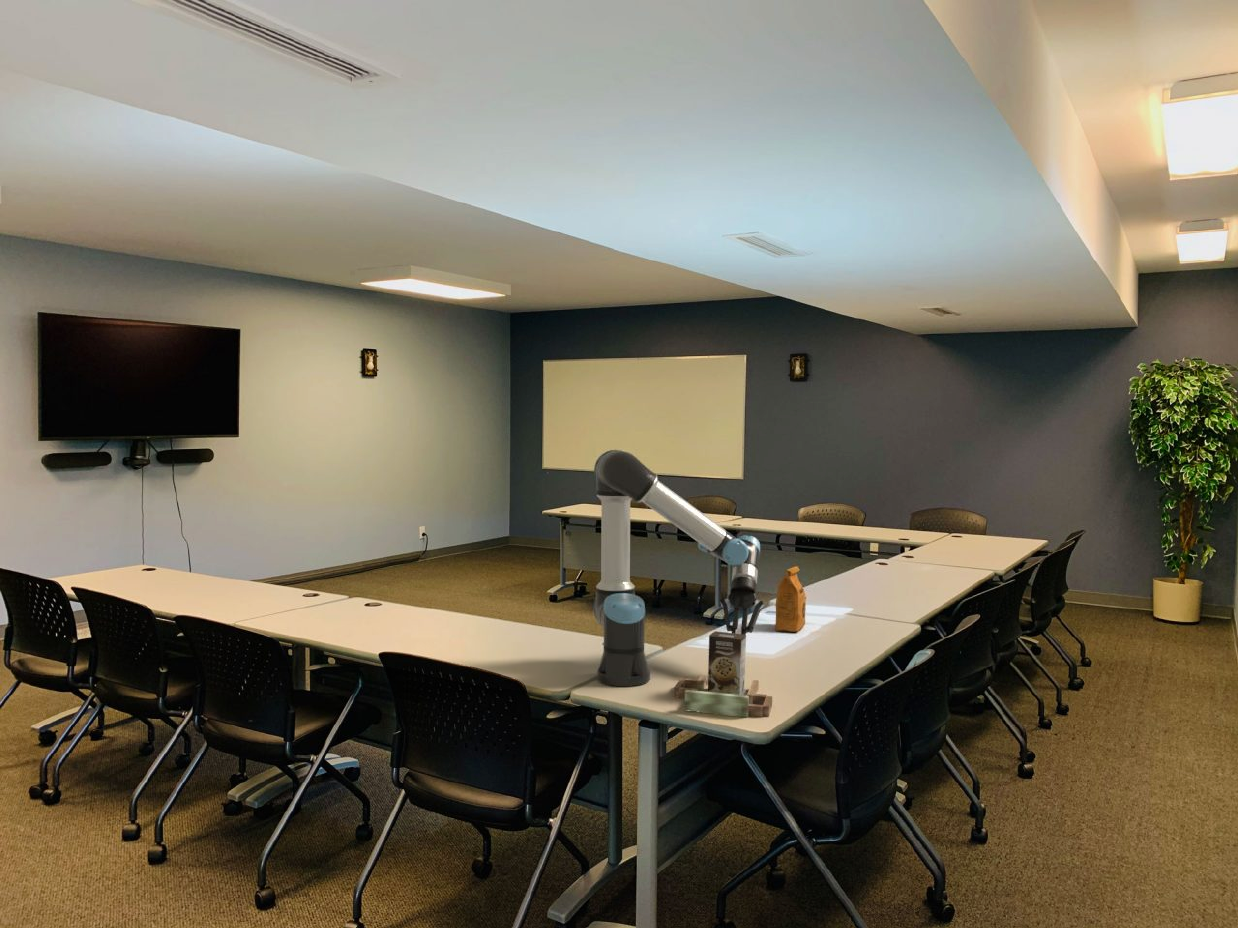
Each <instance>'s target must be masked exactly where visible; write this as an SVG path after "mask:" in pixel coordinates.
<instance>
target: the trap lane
mask: <svg viewBox="0 0 1238 928" xmlns="http://www.w3.org/2000/svg"><path fill="white" fill-rule="evenodd" d="M707 679H708V675H702V674H701V675H700V677H699V678H687V677H686V678H679V680H678V681H677V682H676V684H675V686H673V697H674V696H678V697H677V698H678V699H682V698H685V699H684V711H685V710H690V711H699V712H704V713H703V714H709V713H717V714H716V715H719V714H724V715H723V716H728V717H729V716H731V717H738V716H739V718H749V716H751V717H759V718H762V717H768V718H769V717H770V714H771V711H772V708H773V696H771V695H767V694H760V693H758V692H759V687H760V685H759V684H760V683H759V682H760V681H759V680H758V679H757V680H755V679H753V680H752V681H751V684H750V687H749V689H748V691H747V693H746V695H744V694H743V695H734V694H724V693H713V692H708V691H704V689H705V688H706V685H707ZM690 711H689V712H690ZM699 712H698V713H699Z"/></svg>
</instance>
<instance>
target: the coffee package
mask: <svg viewBox="0 0 1238 928" xmlns="http://www.w3.org/2000/svg"><path fill="white" fill-rule="evenodd" d="M798 572H800V568H799V566H797V565H796V566H794V567H791V568H788V569H787V570H786V572H785V574H784V575H783V577H782V579H781V580H780V582H779V584H778V585H777V586H778V587H777V590H776V597H775V598H776V599H775V631H777V632H794V633H795V632H799V631H800V630H802V629H803V628H804V627H805V625H806V606H807V605H806V604H807V602H806V601H807V599H806V593H805V589H804V587H803V585H802V584H801V582H800V581H799V577H798V574H797V573H798Z"/></svg>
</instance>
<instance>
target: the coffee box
mask: <svg viewBox="0 0 1238 928" xmlns="http://www.w3.org/2000/svg"><path fill="white" fill-rule="evenodd" d="M746 643H747V634H746V635H744V634H735V633H732V632H727V631H718V630H717V631H716V630H715V631H713V632H711V634H709V636H708V662H707V663H708V664H707V665H708V667H707V669H708V670H707V692H713V693H724V694H734V695H744V693H745V684H746V683H745V679H746V678H745V677H746V676H745V675H746V674H745V673H746V649H747V647H746V646H747V644H746Z"/></svg>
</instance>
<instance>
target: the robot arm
mask: <svg viewBox="0 0 1238 928" xmlns="http://www.w3.org/2000/svg"><path fill="white" fill-rule="evenodd" d="M593 474H594V477H595V480H596V497H597V498H598V499H599V500H600V501H601V523H600V524H601V527H600V528H601V530H600V531H601V536H600V537H601V539H600V541H601V542H600V543H601V545H600V546H601V548H600V549H601V550H600V551H601V552H600V553H601V557H600V558H601V559H600V561H601V562H600V565H601V566H600V571H601V572H600V573H601V574H600V577H601V578H600V581H599V582H598V583H597V584H596V586H595V587H596V588H595V598H594V602H593V613H594V614H593V615H594V618H595V619H596V620H597V623H598V624H599V625H600V626H601V627H602V628H603V650H602V651H603V653H602V655H601V659H600V661H599V665H598V667H597V672H596V673H597V674H596V679H597V681H598V682H600V683H601V684H604V685H608V686H612V685H614V686H615V687H632V686H631V685H637V686H641V685H640V684H642V685H644V683H645V684H647V683H649V682H648V681H649V680H651V671H650V667H649V663H648V660H647V657H646V653H645V627H646V626H645V622H646V607H645V601H644V600H643V598H641V597H640V596H638V595H636V588H635V587H636V585H635V584H634V583H633V582H631V557H630V556H631V501H632V500H633V502H634V501H635V502H636V503H643V504H645V505H646V506H647V507H649V508H650V509H651V510H653V511H654V512H656V513H657V514H658V515H660V516H662V518H664V519H665V520H667V521H668V522H669V523H671V524H673V526H675V527H676V528H678V529H679V530H681V531H682V532H684V533H685V534H687V535H688V536H689V537H690V538H692V539H693V540H695V541H696V542H697V547H698V549H699V550H700V551H702V552H704V553H706V554H709V555H711V556H714V557H715V558H718V559H720V560H721V561H724V562H725V563H726V564H727V565H730V566H732V567H733V568H732V575H731V576H732V577H731V585H730V592H729V594H728V596H727V598H720V600H719V601H720V606H721V608H722V609H723V614H724V621H725V626H726V632H730V633H735V634H744V635H746V636H747V634H748V633H750V634H752V633H753V631H754V628H755V626H756V623H757V621H758V618H759V615H760V613H761V612H762V610H764V608H765V606H764V601H763V600H758V598H757V596H756V595H757V583H758V575H759V565H760V564H759V563H760V557H761V543H760V541H759V539H758V538H757V537H755V536H752V535H742V536H739V537H736V536H734V535H733V534H732V533H731V532H729V531H727V530H726V529H724V528H723V527H722V525H721V526H720V525H719V524H718V523H716V521H714V520H713V519H711V518H710V517H708V516H707V515H706V514H704V513H703V512H702V511H700V510H699V509H697V507H695V506H693V504H690V503H689V502H688V501H687V500H685V499H684V498H683V497H682V496H680V495H679V494H677V493H676V492H674V491H673V490H672V489H670V488H669V487H668V486H666V485H665V484H664V483H662V482H661V481H659V479H658V475H657V474H656V473H654V472H653V471H652V470H651V469H649V468H648V467H647V466H646V465H645V464H644V463H643V462H641V460H640V459H638V458H637V457H636V456H635V455H634V454H633V453H632V452H631V453H630V452H628V451H623V450H621V449H620V450H619V449H610V450H607V451H605V452H603V453H601V455H599V456H598V458H597V459H596V461H595V463H594V467H593ZM729 605H731V607H732V608H733V616H732V625H731V620H730V614H729V613H730V612H729V608H728V607H729ZM753 606H754V609H753V612H752V614H751V617H750V618H749V620H748V617H749V610H750V609H751V608H753ZM741 611H742V616H741V625H740V629H738V626H739V618H740V612H741ZM646 682H647V683H646Z"/></svg>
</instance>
